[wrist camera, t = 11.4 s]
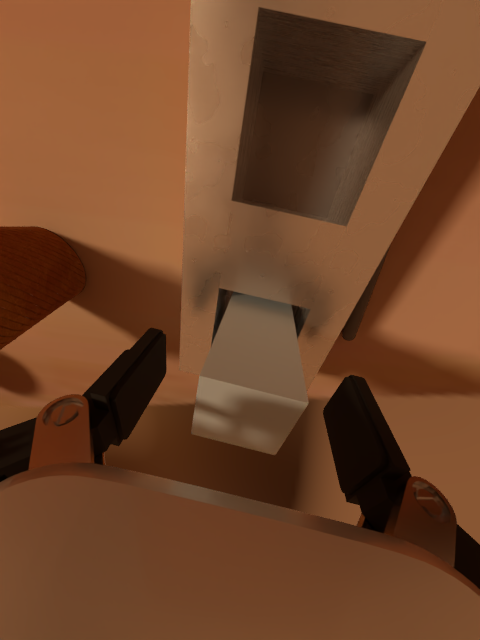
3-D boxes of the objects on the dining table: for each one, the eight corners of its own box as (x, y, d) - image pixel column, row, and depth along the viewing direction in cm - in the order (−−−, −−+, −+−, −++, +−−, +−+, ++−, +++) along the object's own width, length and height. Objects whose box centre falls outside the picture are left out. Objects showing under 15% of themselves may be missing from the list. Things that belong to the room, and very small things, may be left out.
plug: (238, 278, 16) (199, 375, 7) (288, 290, 16) (308, 403, 7) (228, 326, 18) (190, 440, 10) (271, 337, 18) (271, 461, 10)
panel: (229, 1, 10) (195, -150, 5) (438, 45, 9) (572, -76, 5) (198, 333, 20) (179, 370, 16) (296, 356, 20) (302, 399, 16)
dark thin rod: (418, 97, 10) (431, 88, 10) (440, 96, 10) (455, 87, 9) (339, 335, 18) (342, 342, 17) (351, 336, 18) (355, 343, 17)
